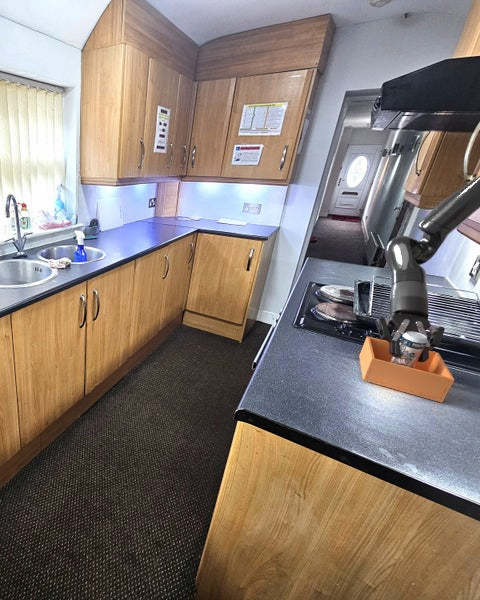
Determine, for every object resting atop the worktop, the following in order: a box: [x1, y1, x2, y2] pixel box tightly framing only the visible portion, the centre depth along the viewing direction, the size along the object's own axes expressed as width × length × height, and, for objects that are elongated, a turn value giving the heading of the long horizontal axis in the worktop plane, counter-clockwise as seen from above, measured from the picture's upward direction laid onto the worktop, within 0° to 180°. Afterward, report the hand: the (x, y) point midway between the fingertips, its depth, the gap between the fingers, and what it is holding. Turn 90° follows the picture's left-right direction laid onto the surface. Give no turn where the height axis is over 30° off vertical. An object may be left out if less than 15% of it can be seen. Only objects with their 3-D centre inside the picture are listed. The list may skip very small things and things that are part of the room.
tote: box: [358, 336, 455, 404], centre depth 88 cm, size 15×15×7 cm
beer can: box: [390, 331, 429, 368], centre depth 87 cm, size 5×5×12 cm
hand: (408, 358), depth 85 cm, fingers closed on beer can, 4 cm apart
